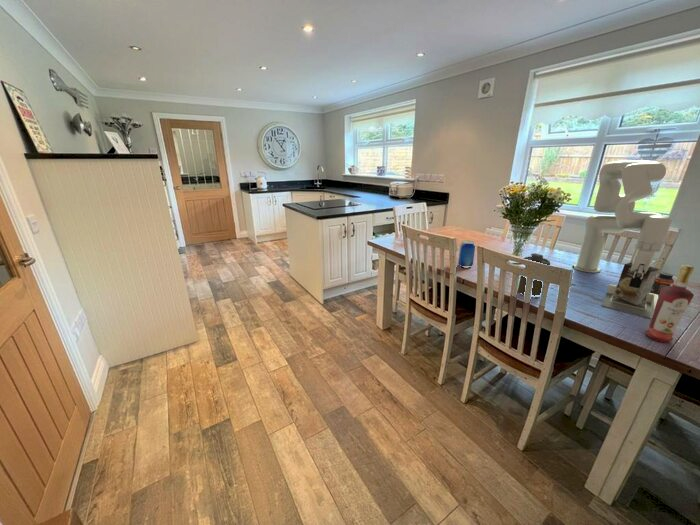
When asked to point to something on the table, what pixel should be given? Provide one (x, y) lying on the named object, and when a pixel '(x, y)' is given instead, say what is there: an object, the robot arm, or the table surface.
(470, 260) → the beer can
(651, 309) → the corner arena
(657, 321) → the liquor
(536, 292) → the canister
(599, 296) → the table surface
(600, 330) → the table surface
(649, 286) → the coffee box
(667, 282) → the supplement bottle
